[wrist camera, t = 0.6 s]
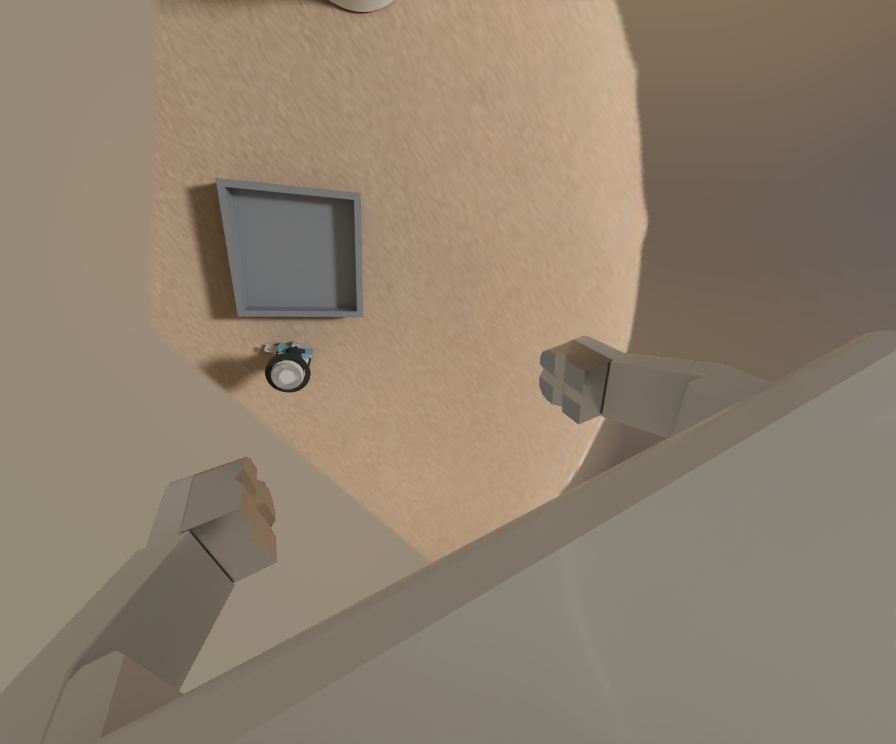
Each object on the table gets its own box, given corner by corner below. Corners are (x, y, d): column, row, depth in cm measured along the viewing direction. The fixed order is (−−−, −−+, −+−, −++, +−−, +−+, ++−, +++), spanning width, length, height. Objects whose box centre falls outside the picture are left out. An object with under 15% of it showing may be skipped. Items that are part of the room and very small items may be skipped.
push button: (263, 361, 51) (248, 389, 43) (269, 328, 50) (255, 350, 41) (310, 370, 54) (305, 399, 45) (317, 338, 52) (313, 362, 44)
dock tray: (224, 181, 42) (215, 177, 39) (358, 195, 46) (360, 193, 43) (244, 310, 48) (237, 316, 45) (361, 311, 53) (362, 317, 49)
